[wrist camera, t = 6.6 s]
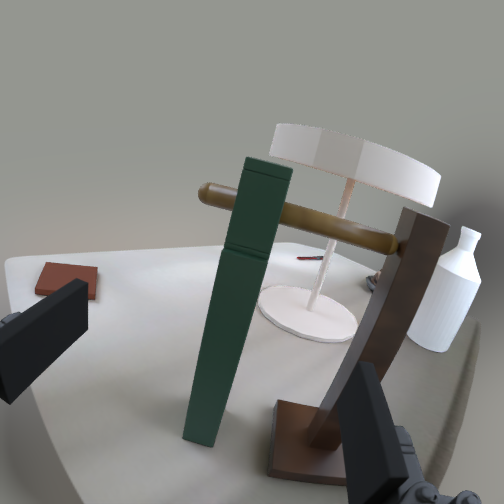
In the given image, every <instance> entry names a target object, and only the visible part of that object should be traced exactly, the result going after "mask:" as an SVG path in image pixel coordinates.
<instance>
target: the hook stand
mask: <svg viewBox="0 0 504 504" xmlns="http://www.w3.org/2000/svg"><path fill="white" fill-rule="evenodd" d="M237 190H238V189H235V188H231V187H227V186H223V185H219V184H215V183H205V184H203V185H202V186H201V187H200V189H199V191H198V197H199V199H200V201H201V202H202V203H204V204H206V205H210V206H214V207H218V208H221V209H225V210H229V211H233V207H234V202H235V198H236V194H237ZM279 224H281V225H285V226H288V227H292V228H295V229H299V230H302V231H306V232H309V233H313V234H316V235H320V236H323V237H327V238H330V239H334V240H337V241H340V242H344V243H347V244H351V245H354V246H357V247H361V248H364V249H367V250H371V251H374V252H377V253H380V254H384V255H387V257H386V260H385V263H384V265H383V268H382V271H381V273H380V276H379V279H378V281H377V284H376V286H375V289H374V291H373V294H372V296H371V299H370V301H369V304H368V306H367V309H366V311H365V313H364V316H363V318H362V320H361V323H360V325H359V327H358V329H357V332H356V334H355V336H354V338H353V341H352V343H351V345H350V347H349V349H348V351H347V353H346V356H345V358H344V360H343V362H342V364H341V366H340V368H339V370H338V372H337V374H336V376H335V378H334V380H333V382H332V384H331V386H330V388H329V390H328V392H327V394H326V395H325V397H324V399H323V401H322V403H321V405H320V407H319V408H318V407H313V406H307V405H302V404H297V403H292V402H288V401H283V400H277V402H276V404H275V406H274V413H273V424H272V435H271V446H270V456H269V466H268V476H270V477H275V478H282V479H288V480H295V481H303V482H311V483H321V484H332V485H346V486H347V483H346V473H345V465H344V456H343V448H342V441H341V433H340V426H339V419H338V412H337V405H336V402H337V401H338V399H339V397H340V395H341V393H342V392H343V390H344V388H345V386H346V384H347V382H348V380H349V379H350V377H351V375H352V373H353V371H354V369H355V367H356V365H357V363H358V361H364V362H369V363H373V364H374V367H375V370H376V373H377V375H378V378H379V381H380V382H381V381H382V379H383V377H384V375H385V374H386V372H387V370H388V368H389V366H390V365H391V363H392V361H393V359H394V357H395V355H396V353H397V351H398V350H399V348H400V346H401V344H402V342H403V340H404V338H405V336H406V334H407V332H408V330H409V328H410V325H411V323H412V321H413V319H414V317H415V315H416V313H417V310H418V308H419V306H420V304H421V301H422V299H423V297H424V294H425V292H426V290H427V287H428V285H429V283H430V280H431V278H432V275H433V273H434V270H435V267H436V265H437V262H438V260H439V257H440V254H441V251H442V248H443V246H444V243H445V240H446V237H447V234H448V231H449V228H450V225H449V224H447V223H445V222H443V221H440V220H438V219H436V218H434V217H431V216H428V215H426V214H423V213H420V212H418V211H415V210H413V209H410V208H407V207H403V210H402V213H401V216H400V219H399V222H398V225H397V228H396V231H395V234H394V235H392V234H390V233H387V232H384V231H381V230H377V229H374V228H371V227H368V226H365V225H362V224H359V223H355V222H352V221H349V220H345V219H342V218H339V217H336V216H332V215H329V214H326V213H322V212H318V211H316V210H312V209H308V208H305V207H302V206H298V205H294V204H291V203H287V202H284V206H283V210H282V213H281V217H280V220H279Z"/></svg>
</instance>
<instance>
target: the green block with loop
mask: <svg viewBox="0 0 504 504" xmlns="http://www.w3.org/2000/svg"><path fill="white" fill-rule="evenodd" d="M292 173H293V169H292V168H291V167H288V166H284V165H280V164H277V163H273V162H269V161H265V160H261V159H257V158H252V157H246V159H245V163H244V167H243V170H242V174H241V178H240V182H239V186H238V190H237V194H236V198H235V202H234V207H233V211H232V215H231V219H230V223H229V227H228V231H227V236H226V240H225V244H224V248H223V250H222V252H221V256H220V260H219V265H218V269H217V273H216V278H215V282H214V287H213V291H212V296H211V300H210V305H209V309H208V314H207V318H206V323H205V328H204V332H203V337H202V342H201V346H200V351H199V356H198V361H197V366H196V371H195V376H194V381H193V386H192V391H191V396H190V401H189V406H188V411H187V416H186V421H185V427H184V432H183V437H182V438H183V439H185V440H189V441H192V442H195V443H199V444H202V445H205V446H209V447H213V445H214V442H215V439H216V435H217V432H218V429H219V426H220V423H221V419H222V416H223V413H224V410H225V406H226V403H227V400H228V397H229V393H230V390H231V387H232V383H233V380H234V377H235V373H236V370H237V367H238V363H239V360H240V357H241V353H242V350H243V347H244V343H245V340H246V337H247V333H248V330H249V326H250V323H251V320H252V316H253V313H254V309H255V306H256V302H257V299H258V295H259V292H260V288H261V285H262V282H263V278H264V275H265V271H266V268H267V264H268V259H269V256H270V253H271V249H272V246H273V241H274V238H275V235H276V231H277V228H278V224H279V220H280V217H281V213H282V210H283V206H284V202H285V199H286V195H287V191H288V188H289V184H290V180H291V177H292Z"/></svg>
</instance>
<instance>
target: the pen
mask: <svg viewBox="0 0 504 504" xmlns="http://www.w3.org/2000/svg"><path fill="white" fill-rule="evenodd" d="M297 258H298V259H323V256H317V257H315V256H314V257H297Z"/></svg>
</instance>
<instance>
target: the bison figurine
mask: <svg viewBox="0 0 504 504" xmlns="http://www.w3.org/2000/svg"><path fill="white" fill-rule="evenodd" d="M381 271H382V269H381V270H380V271H379V272H377V273H376V274H375V275H374V276H368V277H366V282H367V285H368V287H369V288H370V289H371V290H372V291H374V289H375V286H376V284H377V281H378V279H379V276H380V273H381Z"/></svg>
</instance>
